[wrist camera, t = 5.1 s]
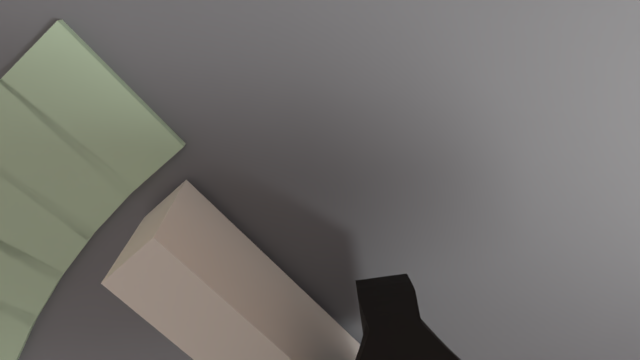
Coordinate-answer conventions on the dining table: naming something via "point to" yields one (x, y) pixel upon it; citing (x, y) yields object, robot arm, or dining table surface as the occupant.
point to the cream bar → (219, 289)
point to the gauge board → (330, 162)
